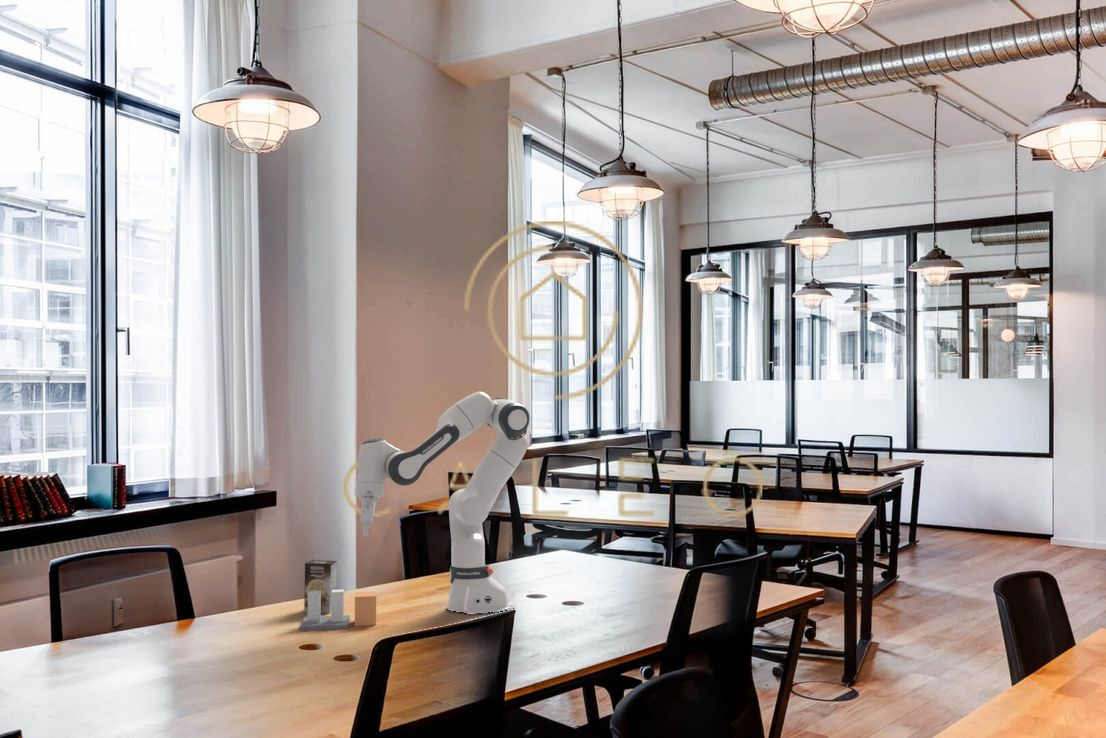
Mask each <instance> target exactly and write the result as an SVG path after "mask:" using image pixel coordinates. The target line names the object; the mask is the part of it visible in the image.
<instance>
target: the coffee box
mask: <svg viewBox="0 0 1106 738" xmlns="http://www.w3.org/2000/svg"><path fill="white" fill-rule="evenodd" d="M337 562H338V561H337V560H325V559H323V560H322V559H310V560H308V561H307V562H305V563H304V592H303V593H304V594H303V596H304V597H303V603H304V604H303V612H304V613H308V592H309V591H316V590H321V614H331V592H332V590H337V567H338V563H337Z"/></svg>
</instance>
